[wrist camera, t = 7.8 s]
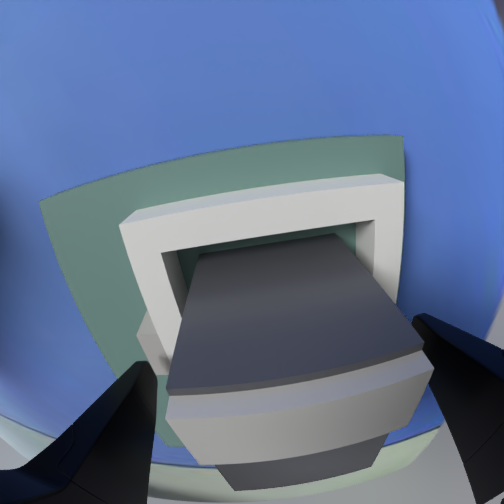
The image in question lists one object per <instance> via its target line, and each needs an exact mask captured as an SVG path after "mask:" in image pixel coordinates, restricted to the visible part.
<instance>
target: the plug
mask: <svg viewBox="0 0 504 504" xmlns="http://www.w3.org/2000/svg"><path fill="white" fill-rule="evenodd" d="M423 345H424V341H423V340H422V338H421V337H420V336H419V334H418V333H417V332H416V330H415V329H414V328H413V326H412V325H411V324H410V322H409V321H408V320H407V318H406V317H405V316H404V314H403V313H402V312H401V311H400V309H399V308H398V307H397V306H396V304H395V303H394V302H393V301H392V299H391V298H390V297H389V296H388V294H387V293H386V292H385V291H384V289H383V288H382V287H381V286H380V285H379V283H378V282H377V281H376V280H375V278H374V277H373V276H372V275H371V274H370V273H369V271H368V270H367V269H366V268H365V267H364V265H363V264H362V263H361V262H360V261H359V260H358V258H357V257H356V256H355V255H354V254H353V253H352V252H351V250H350V249H349V248H348V247H347V246H346V245H345V244H344V243H343V241H342V240H341V239H340V238H339V237H338V236H337V235H336V234H335V233H331V234H325V235H318V236H312V237H305V238H298V239H292V240H285V241H279V242H272V243H266V244H259V245H253V246H247V247H240V248H234V249H227V250H221V251H215V252H208V253H202V254H199V257H198V261H197V264H196V268H195V271H194V275H193V279H192V282H191V286H190V290H189V293H188V297H187V301H186V305H185V309H184V312H183V316H182V320H181V324H180V328H179V332H178V336H177V341H176V345H175V349H174V353H173V357H172V362H171V366H170V371H169V375H168V379H167V384H166V391H167V393H168V394H169V401H168V406H167V412H166V417H165V419H166V421H167V422H168V424H169V425H170V426H171V428H172V429H173V431H174V432H175V433H176V435H177V436H178V437H179V439H180V440H181V441H182V443H183V444H184V445H185V447H186V448H187V449H188V450H189V452H190V453H191V454H192V456H193V457H194V458H195V459H196V460H197V462H198V463H199V464H200V465H215V466H216V468H217V469H218V470H219V472H220V473H221V474H222V476H223V477H224V478H225V479H226V481H227V482H228V483H229V485H230V486H231V487H232V488H233V489H234V491H242V490H256V489H267V488H276V487H283V486H290V485H297V484H303V483H308V482H313V481H318V480H323V479H327V478H332V477H336V476H340V475H344V474H348V473H351V472H355V471H358V470H362V469H365V468H368V467H371V466H372V464H373V462H374V461H375V459H376V457H377V455H378V453H379V452H380V450H381V448H382V446H383V444H384V442H385V440H386V438H387V436H388V434H389V433H390V432H393V431H395V430H398V429H401V428H403V427H406V426H408V424H409V422H410V420H411V418H412V416H413V414H414V412H415V410H416V408H417V406H418V404H419V402H420V400H421V398H422V396H423V393H424V391H425V389H426V387H427V385H428V382H429V380H430V378H431V375H432V373H433V370H434V367H433V366H432V364H431V363H430V361H429V360H428V358H427V357H426V355H425V354H424V352H423V351H422V348H423Z"/></svg>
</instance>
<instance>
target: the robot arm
mask: <svg viewBox="0 0 504 504" xmlns="http://www.w3.org/2000/svg"><path fill="white" fill-rule="evenodd" d="M412 326H413V328H414V329H415V330H416V332H417V333H418V334H419V336H420V337H421V338H422V340H423V341H424V345H423V348H422V351H423V352H424V354H425V355H426V357H427V358H428V360H429V361H430V363H431V364H432V366H433V367H434V370H433V373H432V375H431V378H430V380H429V382H428V384H429V386H430V388H431V390H432V392H433V394H434V396H435V398H436V401H437V403H438V405H439V407H440V409H441V411H442V414H443V416H444V418H445V420H446V423H447V425H448V427H449V429H450V432H451V434H452V436H453V439H454V441H455V444H456V446H457V449H458V451H459V454H460V456H461V459H462V462H463V464H464V468H465V470H466V473H467V476H468V479H469V482H470V485H471V488H472V491H473V494H474V498H475V501H476V504H484V503H486V502H488V501H489V500H491V499H493V498H494V497H496V496H497V495H499V494H501V493H502V492H504V350H503V349H501V348H499V347H497V346H495V345H493V344H491V343H489V342H486V341H484V340H482V339H480V338H478V337H476V336H474V335H471V334H469V333H467V332H465V331H463V330H461V329H459V328H456V327H454V326H452V325H450V324H448V323H446V322H443V321H441V320H439V319H437V318H435V317H432V316H430V315H428V314H426V313H422V314H418V315H415V316H414V318H413V321H412ZM157 389H158V380H157V376H156V374H155V373H154V371H153V369H152V367H151V365H150V363H149V362H148V361H146V360H144V361H136V362H134V363H133V364H132V365H131V366H130V367H129V368H128V369H127V370H126V371H125V372H124V373H123V374H122V375H121V376H120V377H119V378H118V379H117V380H116V381H115V382H114V383H113V384H112V385H111V386H110V387H109V388H108V389H107V390H106V391H105V392H104V393H103V394H102V395H101V396H100V397H99V398H98V399H97V400H96V401H95V402H94V403H93V404H92V405H91V406H90V407H89V408H88V409H87V410H86V411H85V412H84V413H83V414H82V415H81V416H80V417H79V418H78V419H77V420H76V421H75V422H74V423H73V425H71V426H70V427H69V428H68V429H67V430H66V431H65V432H64V433H62V434H61V435H60V436H59V437H58V438H57V439H56V440H55V441H54V442H53V443H51V444H50V445H49V446H48V447H47V448H45V449H44V450H43V451H42V452H40V453H39V454H38V455H37V456H35V457H34V458H33V459H32V460H30V461H29V462H28V463H27V464H25V465H24V466H22V467H20V468H17V469H11V470H0V504H147V495H148V484H149V474H150V465H151V457H152V449H153V441H154V434H155V427H156V416H157ZM501 504H504V498H503V499H502V501H501Z"/></svg>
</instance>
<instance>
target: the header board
mask: <svg viewBox="0 0 504 504" xmlns="http://www.w3.org/2000/svg"><path fill="white" fill-rule="evenodd" d="M39 205H40V209H41V212H42V216H43V219H44V222H45V226H46V229H47V232H48V235H49V238H50V241H51V244H52V247H53V249H54V252H55V255H56V258H57V260H58V263H59V265H60V268H61V271H62V273H63V275H64V278H65V280H66V283H67V285H68V287H69V290H70V292H71V294H72V296H73V299H74V301H75V303H76V305H77V307H78V309H79V311H80V313H81V315H82V317H83V319H84V321H85V323H86V325H87V327H88V329H89V331H90V333H91V335H92V337H93V338H94V340H95V342H96V344H97V346H98V347H99V349H100V351H101V353H102V354H103V356H104V358H105V360H106V361H107V363H108V365H109V366H110V368H111V369H112V371H113V373H114V374H115V376H116V377H117V379H118V378H119V377H120V376H121V375H122V374H123V373H124V372H125V371H126V370H127V369H128V368H129V367H130V366H131V365H132V364H133V363H134V362H136V361H144V360H146V361H148V362H149V363H150V365H151V367H152V369H153V371H154V373H155V374H156V376H157V380H158V389H157V416H156V427H155V432H156V433H157V434H158V436H159V437H160V438H161V439H162V440H163V442H164V443H165V444H166V445H167V446H174V447H185V445H184V444H183V443H182V441H181V440H180V439H179V437H178V436H177V435H176V433H175V432H174V431H173V429H172V428H171V426H170V425H169V424H168V422H167V421H166V419H165V417H166V412H167V406H168V401H169V394H168V393H167V391H166V384H167V379H168V375H169V371H170V366H171V362H172V357H173V353H174V349H175V345H176V341H177V336H178V332H179V328H180V324H181V320H182V316H183V312H184V309H185V305H186V301H187V297H188V293H189V290H190V286H191V282H192V279H193V275H194V271H195V268H196V264H197V261H198V257H199V254H202V253H208V252H215V251H221V250H227V249H234V248H240V247H247V246H253V245H259V244H266V243H272V242H279V241H285V240H292V239H298V238H305V237H312V236H318V235H325V234H331V233H335V234H336V235H337V236H338V237H339V238H340V239H341V240H342V241H343V243H344V244H345V245H346V246H347V247H348V248H349V249H350V250H351V252H352V253H353V254H354V255H355V256H356V257H357V258H358V260H359V261H360V262H361V263H362V264H363V265H364V267H365V268H366V269H367V270H368V271H369V273H370V274H371V275H372V276H373V277H374V278H375V280H376V281H377V282H378V283H379V285H380V286H381V287H382V288H383V289H384V291H385V292H386V293H387V294H388V296H389V297H390V298H391V299H392V301H393V302H394V303H395V304H397V297H398V290H399V282H400V273H401V263H402V252H403V238H404V219H405V164H404V144H403V136H397V135H352V136H334V137H320V138H308V139H297V140H288V141H279V142H271V143H263V144H256V145H249V146H242V147H236V148H230V149H224V150H218V151H213V152H207V153H202V154H197V155H192V156H187V157H183V158H178V159H174V160H169V161H165V162H161V163H156V164H152V165H148V166H144V167H140V168H137V169H133V170H129V171H126V172H122V173H118V174H115V175H112V176H108V177H105V178H101V179H98V180H95V181H92V182H89V183H86V184H83V185H80V186H77V187H74V188H71V189H68V190H65V191H62V192H59V193H57V194H54V195H52V196H50V197H48V198H45V199H43V200H41V201H39Z"/></svg>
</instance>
